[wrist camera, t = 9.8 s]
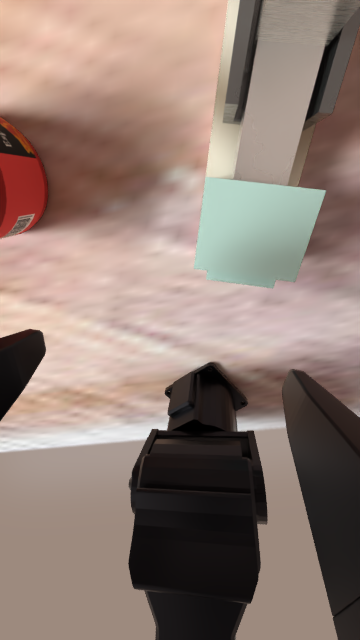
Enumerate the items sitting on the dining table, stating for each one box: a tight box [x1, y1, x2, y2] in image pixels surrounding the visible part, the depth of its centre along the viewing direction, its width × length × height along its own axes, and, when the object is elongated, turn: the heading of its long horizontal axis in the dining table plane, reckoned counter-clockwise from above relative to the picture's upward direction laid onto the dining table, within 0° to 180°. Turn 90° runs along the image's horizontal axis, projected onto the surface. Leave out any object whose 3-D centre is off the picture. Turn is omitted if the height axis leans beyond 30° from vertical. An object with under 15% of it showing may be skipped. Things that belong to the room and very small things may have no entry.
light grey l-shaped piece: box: [231, 0, 360, 186], centre depth 10 cm, size 12×3×11 cm, turn 174°
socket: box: [194, 177, 326, 288], centre depth 15 cm, size 5×6×5 cm
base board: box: [195, 0, 316, 256], centre depth 15 cm, size 19×6×1 cm, turn 174°
